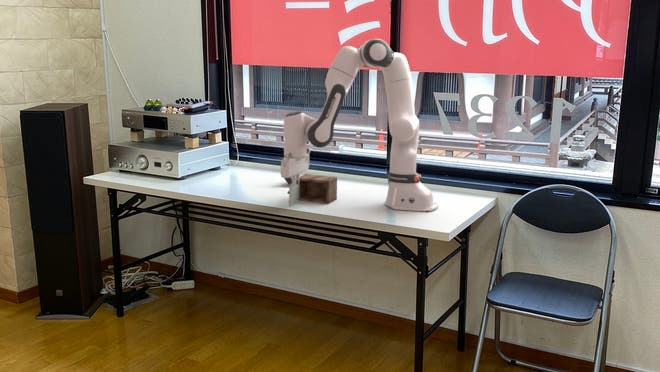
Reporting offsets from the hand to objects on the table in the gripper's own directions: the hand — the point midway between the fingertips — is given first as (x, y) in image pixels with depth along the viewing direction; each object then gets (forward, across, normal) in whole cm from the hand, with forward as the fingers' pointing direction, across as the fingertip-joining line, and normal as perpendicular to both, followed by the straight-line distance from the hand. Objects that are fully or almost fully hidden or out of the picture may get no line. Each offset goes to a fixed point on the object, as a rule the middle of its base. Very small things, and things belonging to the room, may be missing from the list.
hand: (295, 184), depth 263 cm
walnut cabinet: (+10, +16, -3) cm, 18 cm away
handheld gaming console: (+10, +38, +18) cm, 43 cm away
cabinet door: (+9, +4, +3) cm, 10 cm away
